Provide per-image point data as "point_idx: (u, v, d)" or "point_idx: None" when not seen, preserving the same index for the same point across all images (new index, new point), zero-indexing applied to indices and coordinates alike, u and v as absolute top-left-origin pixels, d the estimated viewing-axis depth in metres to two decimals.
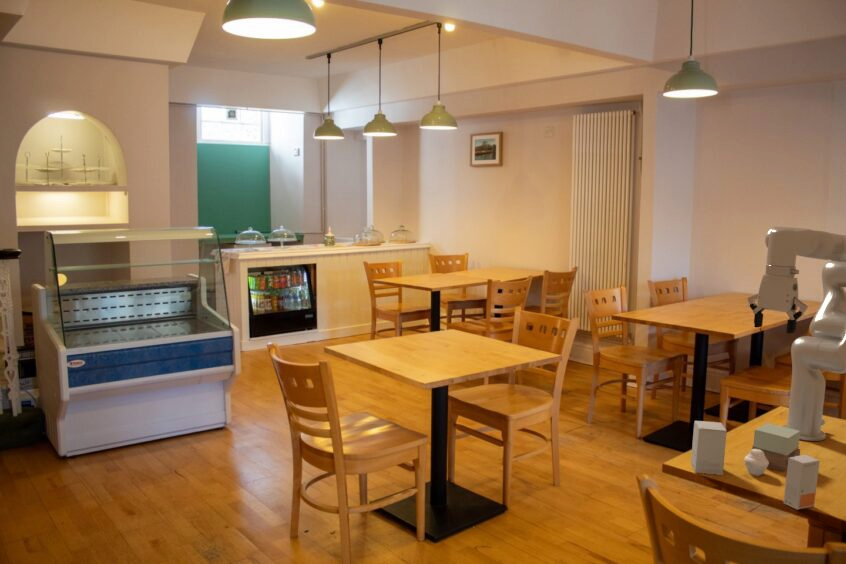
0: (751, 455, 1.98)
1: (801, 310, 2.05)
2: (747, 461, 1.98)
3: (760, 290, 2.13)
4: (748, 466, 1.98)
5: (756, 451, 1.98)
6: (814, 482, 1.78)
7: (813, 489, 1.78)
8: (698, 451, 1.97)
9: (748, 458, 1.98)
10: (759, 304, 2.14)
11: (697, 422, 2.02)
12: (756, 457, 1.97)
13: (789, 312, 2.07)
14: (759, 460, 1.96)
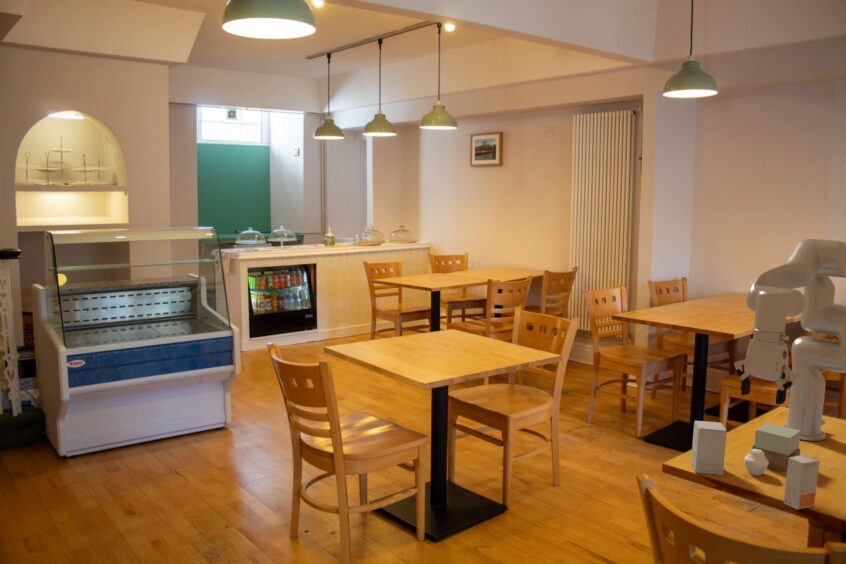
0: (751, 455, 1.98)
1: (791, 380, 1.89)
2: (747, 461, 1.98)
3: (747, 356, 1.97)
4: (748, 466, 1.98)
5: (756, 451, 1.98)
6: (814, 482, 1.78)
7: (813, 489, 1.78)
8: (698, 451, 1.97)
9: (748, 458, 1.98)
10: (746, 371, 1.98)
11: (697, 422, 2.02)
12: (756, 457, 1.97)
13: (778, 381, 1.91)
14: (759, 460, 1.96)
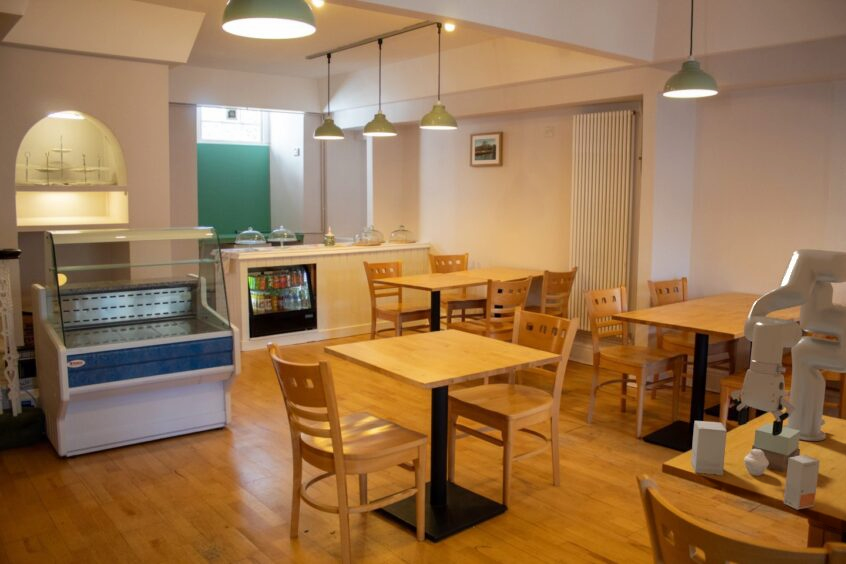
0: (751, 455, 1.98)
1: (788, 412, 1.90)
2: (747, 461, 1.98)
3: (744, 386, 1.98)
4: (748, 466, 1.98)
5: (756, 451, 1.98)
6: (814, 482, 1.78)
7: (813, 489, 1.78)
8: (698, 451, 1.97)
9: (748, 458, 1.98)
10: (743, 401, 1.98)
11: (697, 422, 2.02)
12: (756, 457, 1.97)
13: (775, 413, 1.92)
14: (759, 460, 1.96)
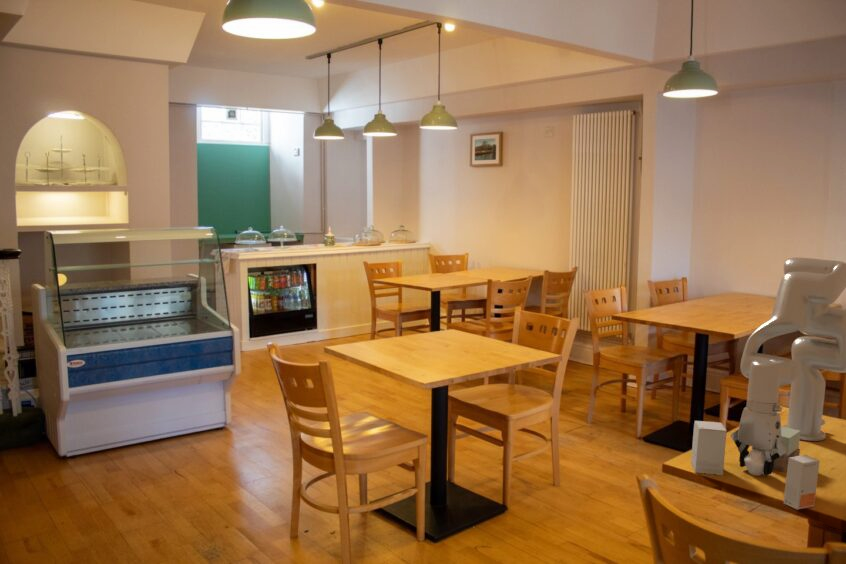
0: (751, 455, 1.98)
1: (779, 453, 1.93)
2: (747, 461, 1.98)
3: (741, 424, 1.99)
4: (748, 466, 1.98)
5: (756, 451, 1.98)
6: (814, 482, 1.78)
7: (813, 489, 1.78)
8: (698, 451, 1.97)
9: (748, 458, 1.98)
10: (740, 439, 2.00)
11: (697, 422, 2.02)
12: (756, 457, 1.97)
13: (768, 453, 1.94)
14: (759, 460, 1.96)
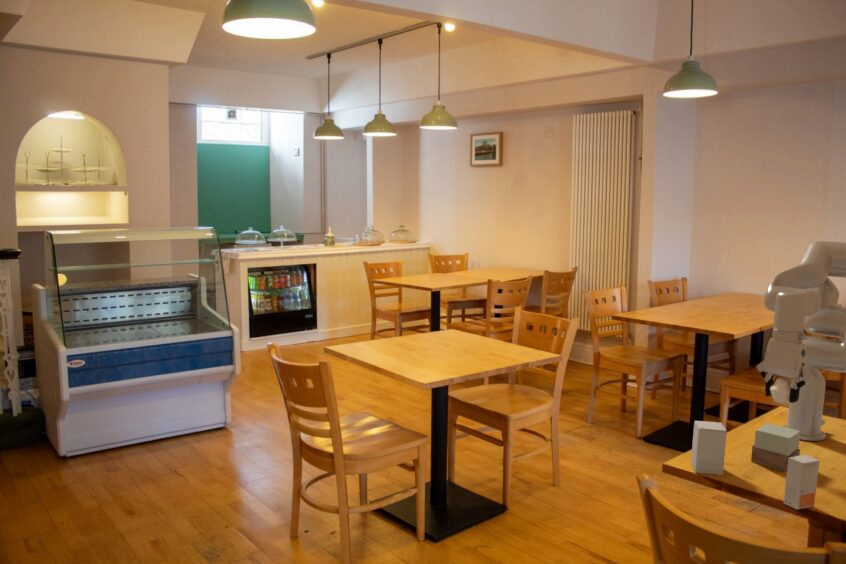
0: (777, 384, 2.03)
1: (805, 380, 1.98)
2: (773, 389, 2.03)
3: (767, 354, 2.05)
4: (774, 394, 2.04)
5: (782, 380, 2.03)
6: (814, 482, 1.78)
7: (813, 489, 1.78)
8: (698, 451, 1.97)
9: (774, 387, 2.03)
10: (766, 369, 2.05)
11: (697, 422, 2.02)
12: (782, 385, 2.02)
13: (794, 380, 2.00)
14: (785, 388, 2.02)
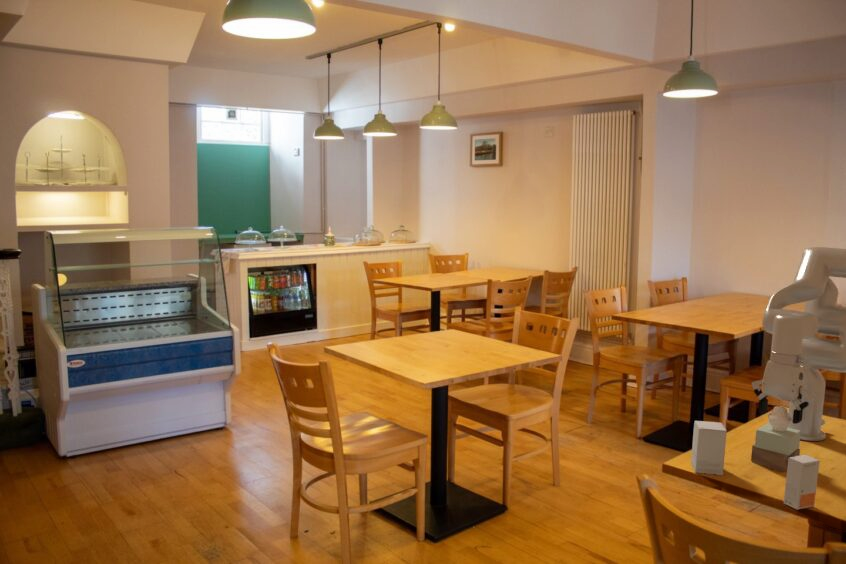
0: (774, 412, 2.04)
1: (807, 401, 1.98)
2: (771, 418, 2.04)
3: (765, 377, 2.06)
4: (772, 423, 2.05)
5: (779, 408, 2.04)
6: (814, 482, 1.78)
7: (813, 489, 1.78)
8: (698, 451, 1.97)
9: (772, 415, 2.05)
10: (764, 391, 2.06)
11: (697, 422, 2.02)
12: (779, 413, 2.03)
13: (795, 402, 2.00)
14: (783, 416, 2.03)
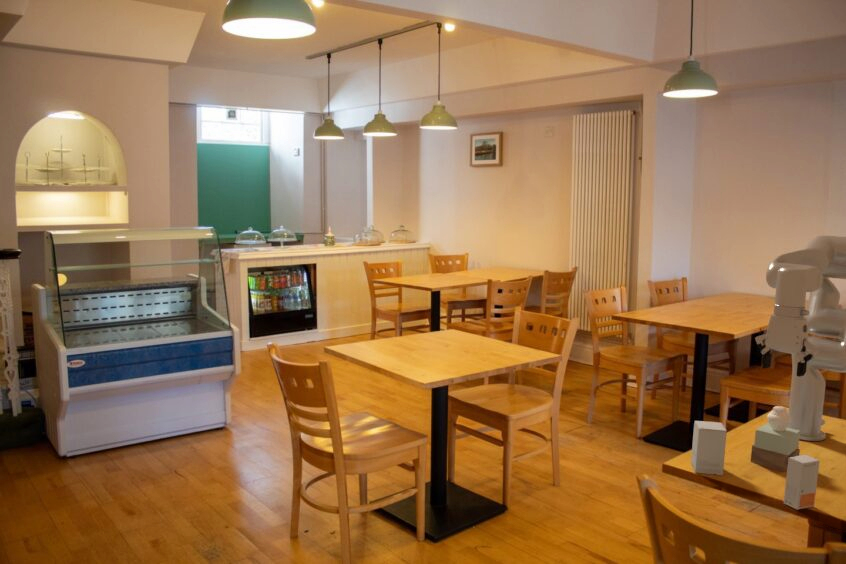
0: (774, 412, 2.04)
1: (812, 353, 1.97)
2: (770, 418, 2.04)
3: (768, 330, 2.05)
4: (771, 423, 2.05)
5: (779, 408, 2.04)
6: (814, 482, 1.78)
7: (813, 489, 1.78)
8: (698, 451, 1.97)
9: (771, 415, 2.05)
10: (767, 345, 2.05)
11: (697, 422, 2.02)
12: (779, 413, 2.03)
13: (799, 354, 1.99)
14: (782, 416, 2.03)
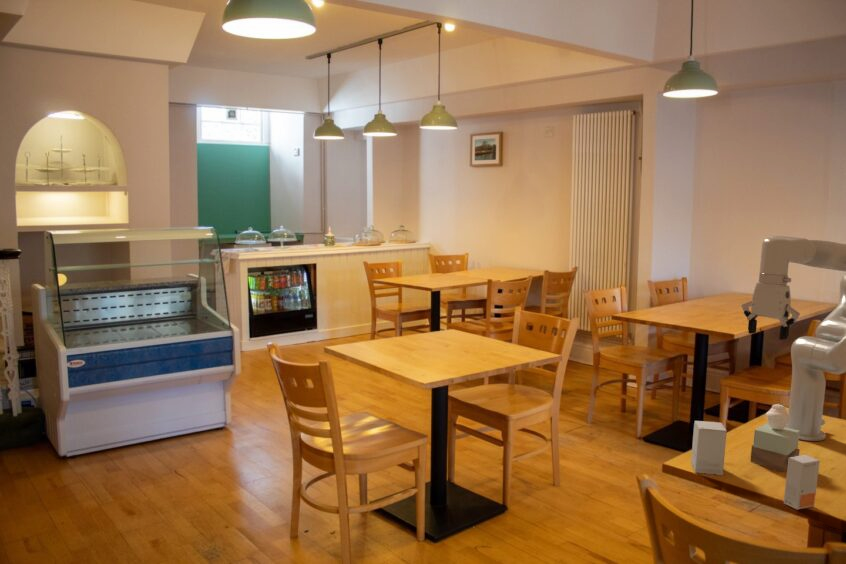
0: (772, 409, 2.06)
1: (793, 317, 2.12)
2: (768, 414, 2.05)
3: (754, 297, 2.20)
4: (769, 419, 2.05)
5: (777, 405, 2.05)
6: (814, 482, 1.78)
7: (813, 489, 1.78)
8: (698, 451, 1.97)
9: (769, 412, 2.06)
10: (753, 311, 2.20)
11: (697, 422, 2.02)
12: (777, 410, 2.04)
13: (782, 319, 2.14)
14: (780, 413, 2.04)
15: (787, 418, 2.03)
